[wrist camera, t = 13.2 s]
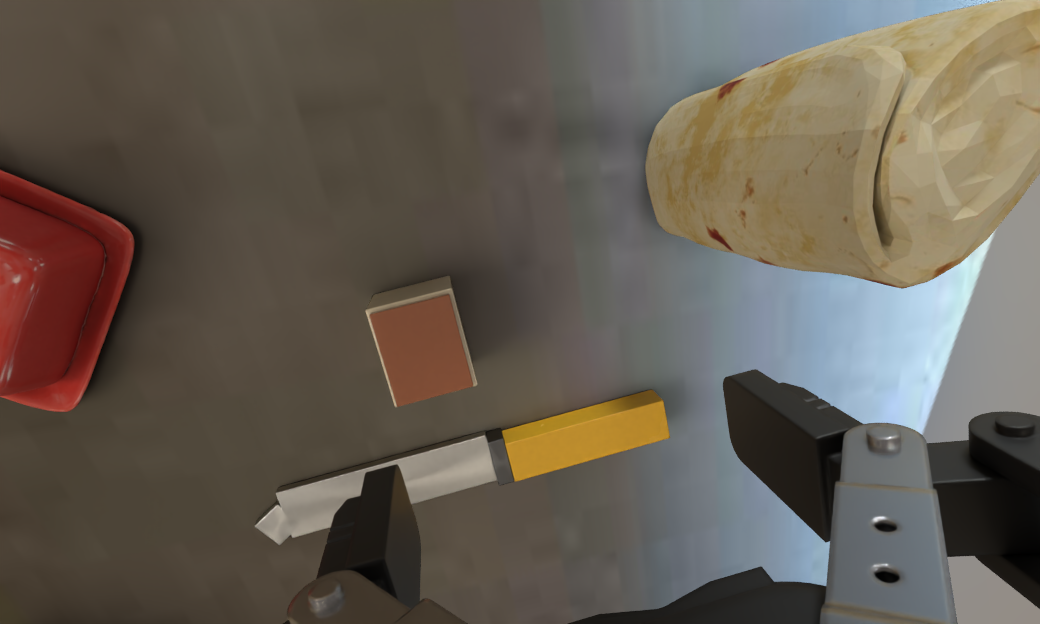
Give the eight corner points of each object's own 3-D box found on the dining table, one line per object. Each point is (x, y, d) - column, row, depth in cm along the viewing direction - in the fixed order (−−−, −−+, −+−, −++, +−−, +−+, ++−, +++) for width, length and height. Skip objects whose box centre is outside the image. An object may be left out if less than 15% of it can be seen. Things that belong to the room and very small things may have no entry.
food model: (699, 253, 37) (987, 344, 18) (606, 206, 36) (810, 249, 16) (777, 104, 36) (1182, 27, 16) (684, 49, 34) (1008, -108, 15)
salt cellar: (399, 382, 36) (394, 411, 32) (372, 294, 35) (363, 312, 31) (473, 363, 37) (478, 389, 32) (449, 275, 35) (452, 289, 31)
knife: (266, 543, 38) (257, 563, 36) (247, 495, 37) (237, 513, 35) (660, 432, 40) (671, 445, 38) (651, 384, 39) (662, 395, 37)
